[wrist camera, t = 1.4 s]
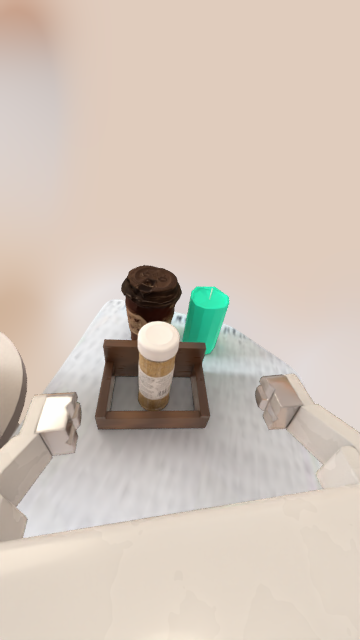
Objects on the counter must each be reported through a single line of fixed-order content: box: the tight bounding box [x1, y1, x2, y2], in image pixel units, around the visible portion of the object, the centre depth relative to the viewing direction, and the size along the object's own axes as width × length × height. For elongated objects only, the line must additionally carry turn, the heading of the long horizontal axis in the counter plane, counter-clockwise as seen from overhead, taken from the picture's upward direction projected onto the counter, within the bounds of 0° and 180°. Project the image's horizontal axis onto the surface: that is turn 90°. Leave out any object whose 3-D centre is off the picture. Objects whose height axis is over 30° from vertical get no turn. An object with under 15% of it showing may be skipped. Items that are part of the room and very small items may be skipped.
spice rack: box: [95, 340, 210, 429], centre depth 33 cm, size 14×9×7 cm, turn 94°
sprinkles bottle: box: [138, 321, 180, 411], centre depth 31 cm, size 5×5×14 cm
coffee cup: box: [121, 265, 182, 340], centre depth 39 cm, size 9×8×13 cm
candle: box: [183, 287, 229, 354], centre depth 40 cm, size 6×6×12 cm
